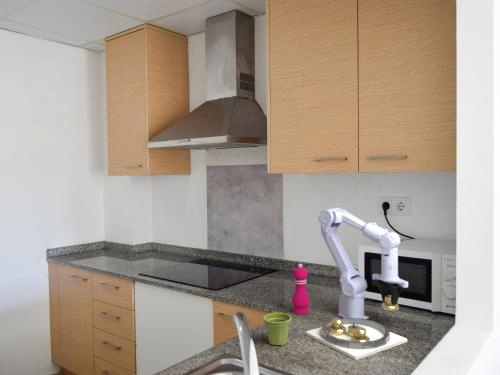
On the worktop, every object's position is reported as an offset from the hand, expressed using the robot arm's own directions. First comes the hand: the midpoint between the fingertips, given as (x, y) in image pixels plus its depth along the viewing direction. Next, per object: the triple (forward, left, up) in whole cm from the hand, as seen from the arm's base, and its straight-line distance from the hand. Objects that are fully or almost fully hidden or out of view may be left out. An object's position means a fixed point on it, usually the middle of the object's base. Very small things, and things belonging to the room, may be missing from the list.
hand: (389, 302), depth 152 cm
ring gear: (0, -18, -8) cm, 20 cm away
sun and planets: (0, -20, -8) cm, 21 cm away
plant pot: (-12, -42, -9) cm, 44 cm away
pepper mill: (-31, -17, -9) cm, 36 cm away
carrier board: (0, -18, -9) cm, 20 cm away
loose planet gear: (0, 0, -2) cm, 2 cm away
